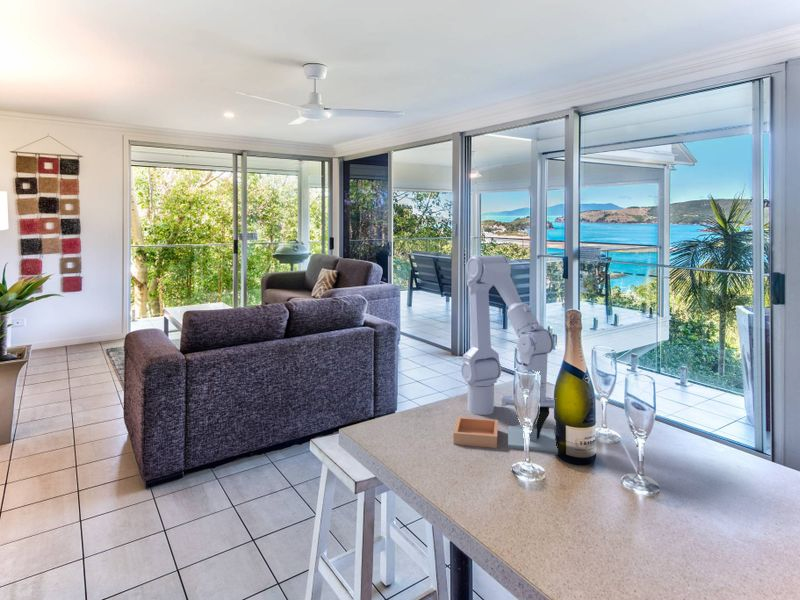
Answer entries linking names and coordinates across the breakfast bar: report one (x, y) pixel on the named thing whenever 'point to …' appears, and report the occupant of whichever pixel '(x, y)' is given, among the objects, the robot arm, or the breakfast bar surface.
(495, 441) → the square open tray
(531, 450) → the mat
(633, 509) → the breakfast bar surface
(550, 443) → the lid
